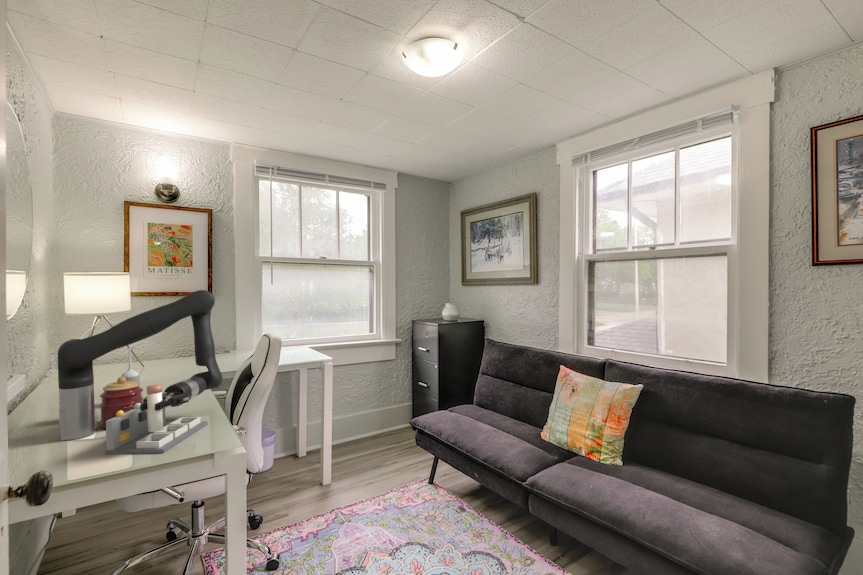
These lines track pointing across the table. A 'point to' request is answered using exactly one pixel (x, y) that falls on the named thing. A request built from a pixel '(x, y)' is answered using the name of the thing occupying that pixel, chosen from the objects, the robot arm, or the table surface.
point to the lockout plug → (154, 416)
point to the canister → (119, 398)
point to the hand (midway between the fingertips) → (149, 407)
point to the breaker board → (146, 432)
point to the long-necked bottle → (131, 371)
